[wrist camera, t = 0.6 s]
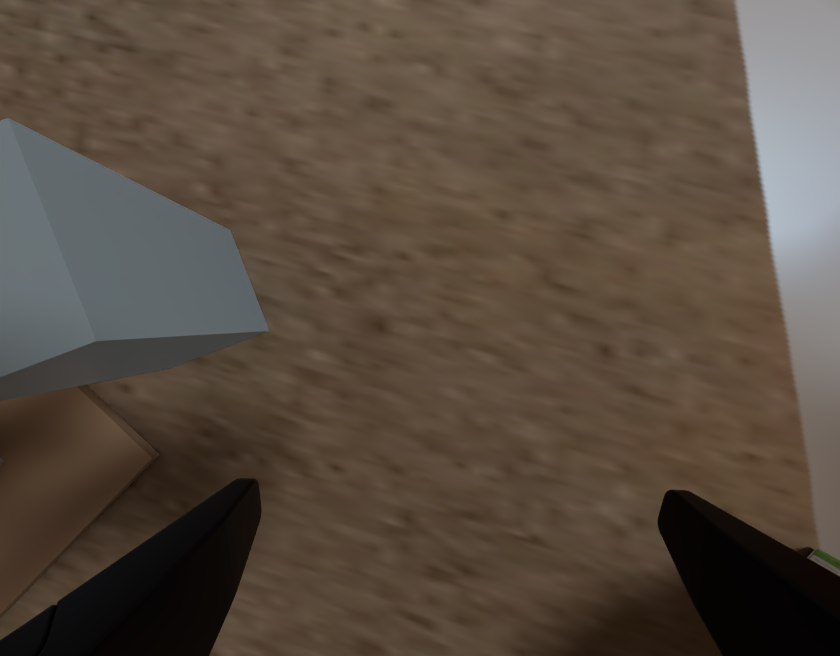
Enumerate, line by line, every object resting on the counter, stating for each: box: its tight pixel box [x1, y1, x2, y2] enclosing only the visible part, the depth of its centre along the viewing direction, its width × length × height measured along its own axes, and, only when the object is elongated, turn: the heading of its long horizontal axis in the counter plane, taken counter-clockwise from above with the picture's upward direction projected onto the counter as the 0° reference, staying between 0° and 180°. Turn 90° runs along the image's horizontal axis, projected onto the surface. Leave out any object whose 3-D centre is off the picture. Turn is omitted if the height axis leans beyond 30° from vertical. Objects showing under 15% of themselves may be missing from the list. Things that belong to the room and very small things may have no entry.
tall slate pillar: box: [0, 118, 269, 401], centre depth 16 cm, size 6×6×12 cm
